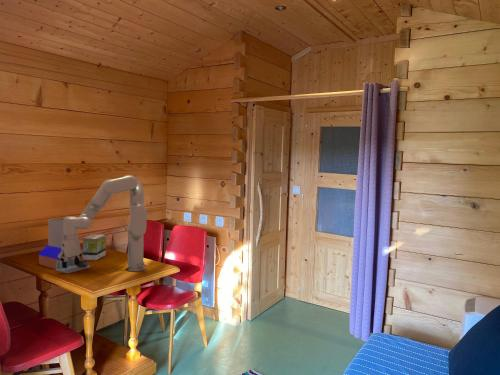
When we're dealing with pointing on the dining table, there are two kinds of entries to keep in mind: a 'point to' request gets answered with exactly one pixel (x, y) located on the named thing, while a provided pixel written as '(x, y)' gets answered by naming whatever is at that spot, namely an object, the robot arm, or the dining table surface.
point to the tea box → (94, 247)
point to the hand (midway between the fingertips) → (70, 266)
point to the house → (50, 256)
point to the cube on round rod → (82, 263)
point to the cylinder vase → (55, 232)
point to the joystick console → (69, 266)
